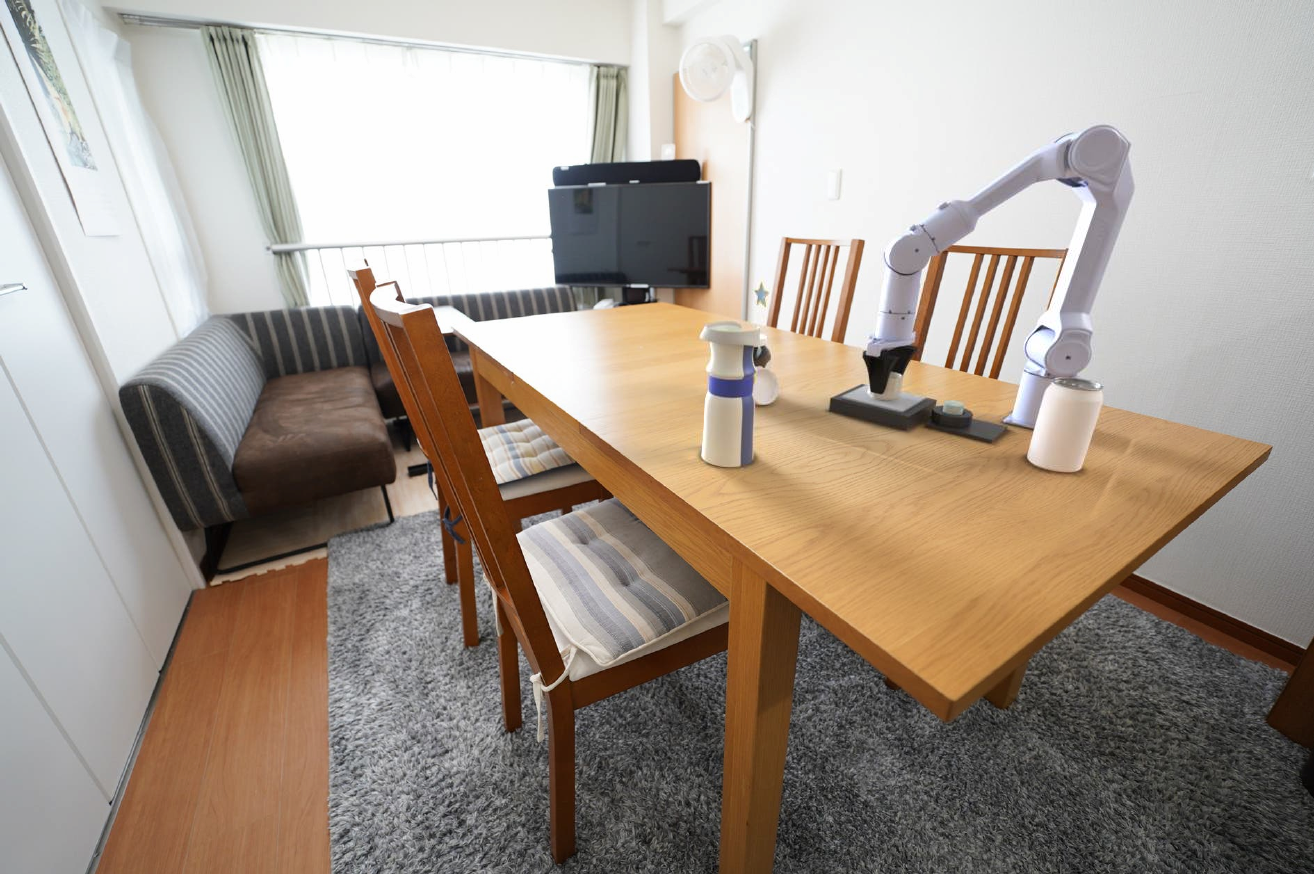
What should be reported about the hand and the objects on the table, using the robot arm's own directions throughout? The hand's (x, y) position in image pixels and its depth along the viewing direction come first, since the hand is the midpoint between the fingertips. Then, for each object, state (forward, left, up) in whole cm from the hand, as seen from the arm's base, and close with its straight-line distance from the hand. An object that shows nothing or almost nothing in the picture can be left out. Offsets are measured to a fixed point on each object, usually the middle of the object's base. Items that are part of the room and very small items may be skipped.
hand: (884, 389), depth 96 cm
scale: (0, 0, -4) cm, 4 cm away
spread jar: (+22, +9, -5) cm, 24 cm away
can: (-27, +4, -5) cm, 28 cm away
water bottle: (+8, +34, -5) cm, 35 cm away
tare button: (-11, -2, -2) cm, 11 cm away
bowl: (0, 0, -1) cm, 1 cm away
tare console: (-14, -2, -4) cm, 14 cm away
